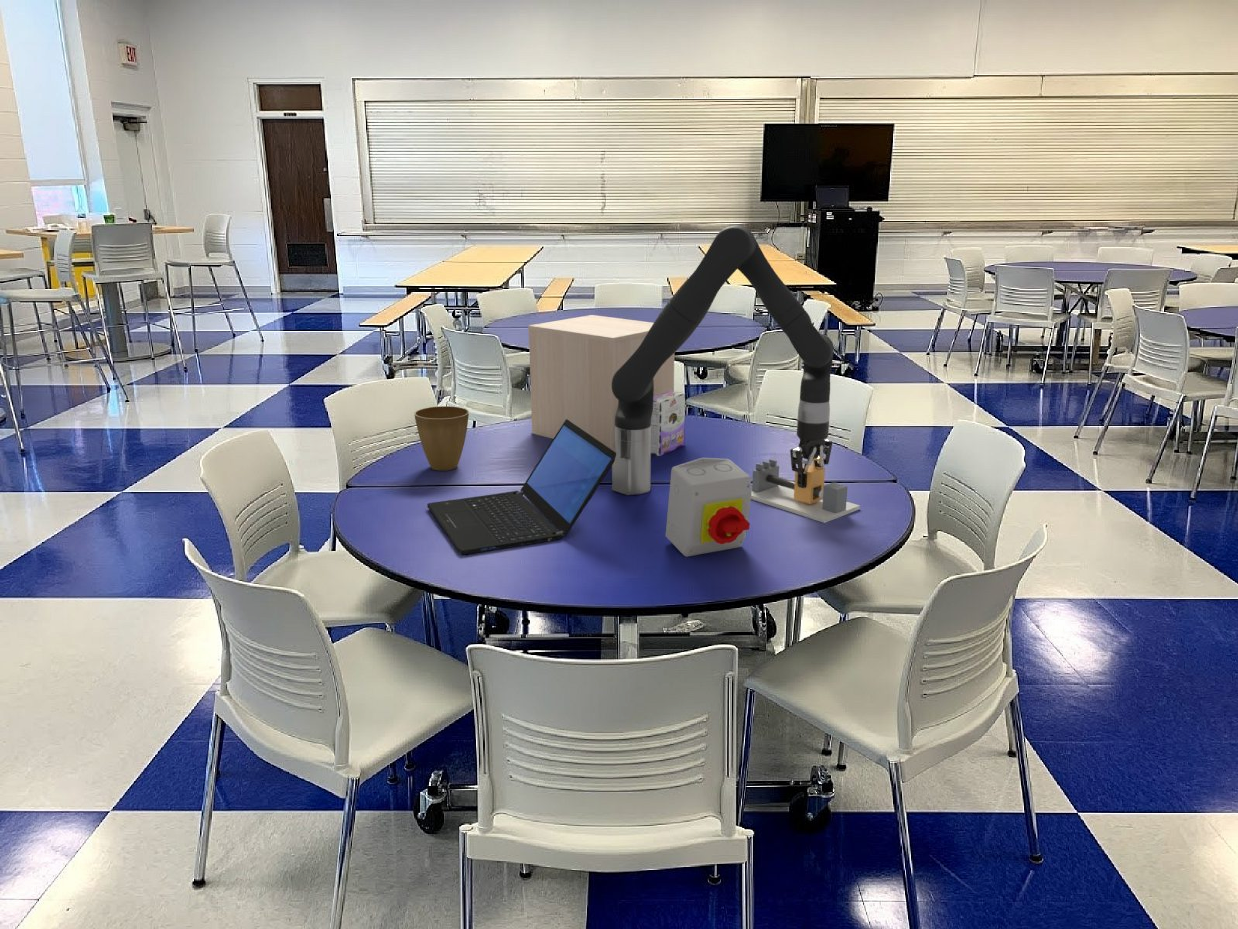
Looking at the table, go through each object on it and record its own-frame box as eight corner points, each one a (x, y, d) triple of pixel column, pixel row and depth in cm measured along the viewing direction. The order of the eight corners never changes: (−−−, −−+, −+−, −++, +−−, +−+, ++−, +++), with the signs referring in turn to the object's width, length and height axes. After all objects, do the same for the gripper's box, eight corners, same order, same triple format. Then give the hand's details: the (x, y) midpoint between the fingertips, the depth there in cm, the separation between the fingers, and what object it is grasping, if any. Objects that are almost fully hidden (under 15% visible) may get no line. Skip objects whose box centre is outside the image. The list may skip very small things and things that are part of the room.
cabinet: (674, 433, 298) (676, 325, 288) (614, 453, 277) (613, 337, 267) (593, 416, 320) (592, 314, 310) (531, 433, 299) (528, 325, 289)
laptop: (426, 510, 233) (421, 434, 227) (569, 490, 247) (567, 418, 241) (459, 558, 204) (454, 473, 198) (619, 532, 218) (619, 452, 212)
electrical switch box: (695, 576, 199) (704, 491, 190) (664, 542, 211) (672, 461, 202) (755, 564, 204) (766, 482, 196) (722, 532, 217) (731, 453, 208)
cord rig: (744, 496, 240) (745, 466, 238) (779, 485, 249) (780, 455, 246) (824, 523, 222) (826, 490, 220) (859, 509, 231) (861, 477, 229)
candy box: (668, 442, 288) (669, 390, 283) (685, 445, 285) (686, 392, 280) (643, 453, 278) (643, 398, 273) (660, 456, 274) (660, 401, 269)
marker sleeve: (793, 499, 234) (795, 468, 231) (806, 494, 237) (808, 464, 234) (810, 504, 230) (811, 472, 228) (823, 499, 233) (825, 468, 231)
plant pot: (448, 478, 256) (445, 421, 251) (406, 470, 263) (402, 414, 258) (482, 463, 268) (479, 409, 263) (441, 456, 275) (438, 403, 270)
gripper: (807, 426, 220) (803, 495, 225) (844, 416, 229) (839, 482, 234) (782, 420, 225) (778, 487, 230) (819, 410, 234) (814, 475, 240)
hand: (809, 484), depth 232 cm, fingers closed on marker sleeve, 5 cm apart
